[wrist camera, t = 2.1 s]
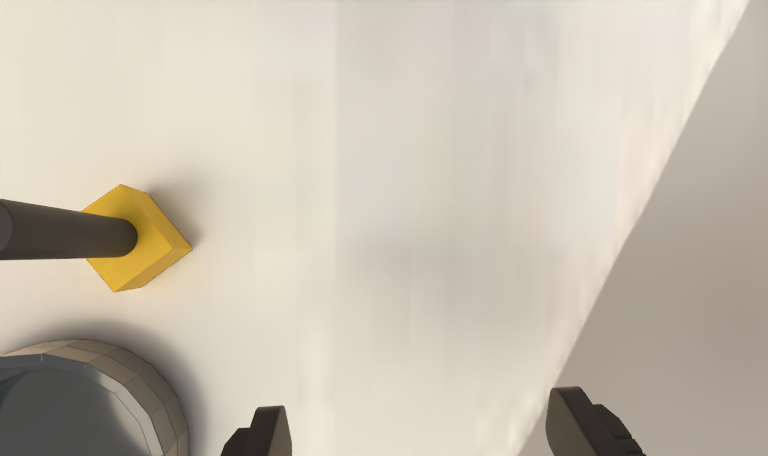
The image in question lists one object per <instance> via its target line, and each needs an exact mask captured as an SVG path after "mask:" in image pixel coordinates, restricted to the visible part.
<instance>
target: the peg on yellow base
mask: <svg viewBox="0 0 768 456" xmlns="http://www.w3.org/2000/svg"><path fill="white" fill-rule="evenodd" d="M191 250H192V247H191V246H190V245H189V244H188V243H187V241H186V240H185V239H184V238H183V236H182V235H181V234H180V233H179V232H178V230H177V229H176V228H175V227H174V225H173V224H172V223H171V222H170V221H169V219H168V218H167V217H166V216H165V214H164V213H163V212H162V211H161V210H160V208H159V207H158V206H157V205H156V203H155V202H154V201H153V200H152V199H151V197H150V196H149V195H148V194H147V193H146V192H143V191H140V190H137V189H134V188H131V187H128V186H125V185H122V184H120V185H119V186H117V187H116V188H114V189H113V190H111V191H110V192H109V193H107V194H106V195H104V196H103V197H101V198H100V199H98V200H97V201H95V202H94V203H93V204H91V205H90V206H88V207H87V208H85V209H84V210H82V211H81V212H78V211H72V210H66V209H60V208H53V207H47V206H41V205H35V204H29V203H23V202H17V201H10V200H4V199H0V260H32V259H74V258H86V260H87V261H88V262H89V263H90V264H91V266H92V267H93V268H94V269H95V270H96V272H97V273H98V274H99V275H100V277H101V278H102V279H103V280H104V281H105V283H106V284H107V285H108V286H109V287H110V289H111V290H112V291H113V292H119V291H125V290H130V289H135V288H141V287H143V286H144V285H145V284H147V283H148V282H149V281H151V280H152V279H153V278H155V277H156V276H157V275H159V274H160V273H161V272H163V271H164V270H165V269H167V268H168V267H170V266H171V265H172V264H174V263H175V262H176V261H178V260H179V259H180V258H182V257H183V256H184V255H186V254H187V253H188V252H190V251H191Z"/></svg>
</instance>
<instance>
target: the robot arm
mask: <svg viewBox="0 0 768 456" xmlns="http://www.w3.org/2000/svg"><path fill="white" fill-rule="evenodd" d="M546 435H547V439H548V443H549V445H550V448H551V450H552V452H553V454H554V456H646V455H645V454H643V452H642V449H641V448H640V447H639V445H638V444H637V442H636V441H635V440H634V439H632V436H631V434H630V433H629V431H628V430H627V429H626V427H625V426H624V424H623V423H622V422H621V420H620V419H619V418H618V417H617V416H615V415H614V414H613V413H612V412H610V411H609V410H608V409H607V408H605V407H604V406H603V405H602V404H596V405H593V404H592V403H591V402H590V400H589V398H588V397H587V395H586V394H585V393H584V392H583V390H582V389H581V388H580V387H578V386H574V387H561V388H552V389H551V391H550V397H549V404H548V411H547V418H546ZM221 456H292V442H291V436H290V431H289V426H288V421H287V416H286V411H285V407H284V406H269V407H258V408H257V409H256V411H255V414H254V417H253V420H252V423H251V426H250V428H238V429H237V430H236V432H235V433H234V434H233V435H232V437H231V438H230V439H229V440H228V441H227V443H226V444H225V445H224V448H223V451H222V453H221Z"/></svg>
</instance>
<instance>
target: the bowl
mask: <svg viewBox="0 0 768 456" xmlns="http://www.w3.org/2000/svg"><path fill="white" fill-rule="evenodd" d="M0 456H188V427H187V423H186V420H185V417H184V415H183V412H182V409H181V407H180V404H179V401H178V398H177V396H176V394H175V392H174V391H173V390H172V388H171V387H170V386H169V385H168V384H167V382H166V381H165V380H164V379H163V378H162V376H161V375H160V374H159V373H158V372H157V370H156V369H155V368H154V367H153V366H152V365H150V364H149V363H147V362H145V361H144V360H142V359H140V358H139V357H137V356H135V355H134V354H132V353H130V352H129V351H127V350H125V349H124V348H121V347H117V346H113V345H109V344H104V343H100V342H95V341H91V340H86V339H76V340H63V341H49V342H42V343H39V344H36V345H32V346H29V347H26V348H23V349H20V350H17V351H13V352H10V353H7V354H4V355H1V356H0Z"/></svg>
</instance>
